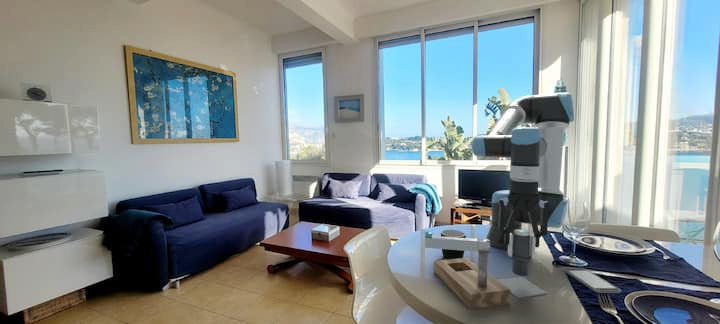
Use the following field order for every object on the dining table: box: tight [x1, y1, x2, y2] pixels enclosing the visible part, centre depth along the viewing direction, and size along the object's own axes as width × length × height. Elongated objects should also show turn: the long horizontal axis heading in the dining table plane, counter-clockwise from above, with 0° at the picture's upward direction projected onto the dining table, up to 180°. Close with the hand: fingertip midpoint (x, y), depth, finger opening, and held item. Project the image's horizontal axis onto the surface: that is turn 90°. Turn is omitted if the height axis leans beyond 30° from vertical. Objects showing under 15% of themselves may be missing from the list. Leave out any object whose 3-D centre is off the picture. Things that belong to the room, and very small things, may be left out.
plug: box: [510, 229, 532, 277], centre depth 87 cm, size 5×5×13 cm
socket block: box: [433, 252, 512, 310], centre depth 89 cm, size 12×22×14 cm, turn 12°
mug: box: [440, 228, 467, 260], centre depth 111 cm, size 12×9×10 cm
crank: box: [424, 231, 491, 254], centre depth 83 cm, size 18×4×4 cm, turn 77°
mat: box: [497, 276, 548, 299], centre depth 88 cm, size 10×10×1 cm
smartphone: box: [563, 267, 622, 294], centre depth 92 cm, size 7×1×15 cm
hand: (520, 255), depth 87 cm, fingers closed on plug, 5 cm apart
